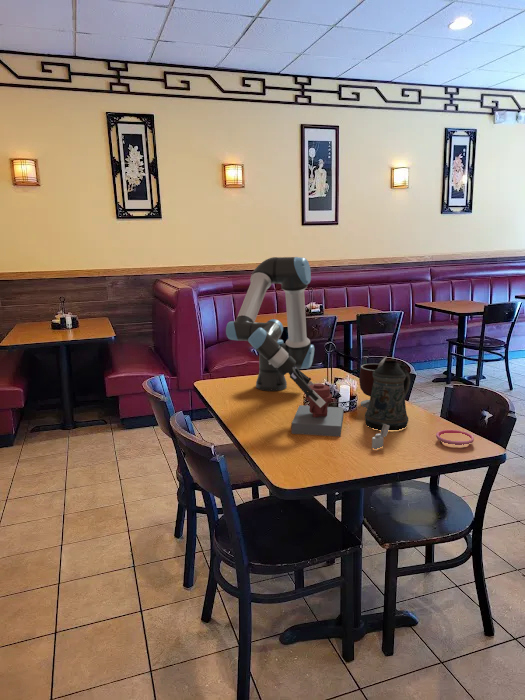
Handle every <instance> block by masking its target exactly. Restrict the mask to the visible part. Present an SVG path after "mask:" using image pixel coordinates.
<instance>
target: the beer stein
mask: <svg viewBox="0 0 525 700" xmlns="http://www.w3.org/2000/svg"><path fill="white" fill-rule="evenodd" d="M373 378H374V383H373V387H372V392H371V397H370V396H369V400H370V401H369V405H368V408H366V411H365V413H364V420H365V423H366V424H365V425H367V426H369V427H371V428H374V429H378V430H382V427H383V424H386V425H389V426H390V427H389V430H399V429H402V428H405V427H406V426H408V423H409V416H408V413H407V408H406V407H407V406H406V397H407V395H408V393H409V390H410V387H411V376H410V373H409V371H408V370H406V366H405V365H404V364H401V363H398V362H397V361H396V360H385V362H384V364H383V365H382V366H380V367H379V368H377V369H376V370H375V371H374V372H373ZM367 426H366V427H367ZM369 427H368V428H369ZM406 428H407V427H406Z"/></svg>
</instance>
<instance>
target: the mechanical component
mask: <svg viewBox="0 0 525 700" xmlns="http://www.w3.org/2000/svg"><path fill="white" fill-rule="evenodd" d="M313 384H314V385H310V386H309V387H310V388H311V389H312V390H314V391H315V392H316V393H317V394H318V395H319V396H320V397H321V398H322V399H323V400H324V401H325V402H326V403H325V404H324V405H323V406H322V407H321V408H320V407H319V406H318V405H317V404H316V403H315V402H314V401H313V400H312V399H311V398H310V397H309V396H308V397H306V396H305V400H307V401H308V402H309V406H310V410H309V411H310V412H311V413H313V417H315V418H316V417H320V416H327V412H328V410H327V408H328V407H329V405H328V404H329V402H331V401H332V400H333V395H332V393H331V386H329V385H326V384H324V383H320V382H317V383H313ZM308 391H309V390H308ZM308 391H307V392H308Z"/></svg>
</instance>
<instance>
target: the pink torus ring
mask: <svg viewBox="0 0 525 700" xmlns="http://www.w3.org/2000/svg"><path fill="white" fill-rule="evenodd" d="M444 433H462V434H465V435H467V436H469V437H470V438H471V440H469V441H451V440H446V439H443V438H441V437H440V435H441V434H444ZM435 436H436V439H437V441H439V440H440V441H442V442H444V443H448V444H455V445H462V444H463V445H464V444H469V443H472V444H473V442H474V441H475V437H474V436H473V434H471V433H469V432H467V431H464V430H463V431H462V430H457V429H443V430H439V431H437V432H436V434H435ZM440 441H439V442H440Z"/></svg>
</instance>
